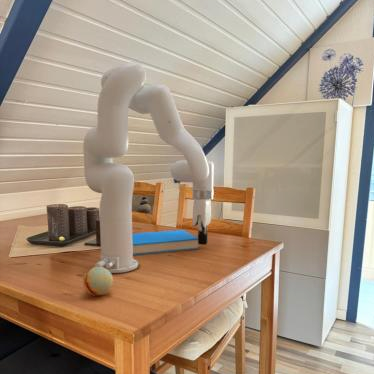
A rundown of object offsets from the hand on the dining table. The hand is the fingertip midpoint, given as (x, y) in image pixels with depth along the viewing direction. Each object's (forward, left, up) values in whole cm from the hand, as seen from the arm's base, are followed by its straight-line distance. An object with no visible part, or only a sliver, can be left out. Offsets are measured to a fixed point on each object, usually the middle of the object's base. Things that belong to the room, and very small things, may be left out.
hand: (202, 243), depth 130 cm
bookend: (-2, +40, -2) cm, 40 cm away
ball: (-51, +13, -2) cm, 53 cm away
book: (-3, +16, -2) cm, 16 cm away
